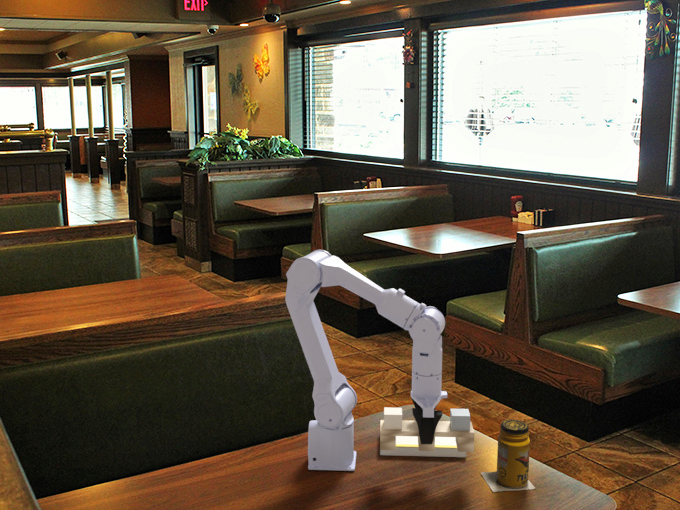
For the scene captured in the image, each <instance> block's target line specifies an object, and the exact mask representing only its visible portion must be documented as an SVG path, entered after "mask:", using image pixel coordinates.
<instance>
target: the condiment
mask: <svg viewBox="0 0 680 510" xmlns="http://www.w3.org/2000/svg"><path fill="white" fill-rule="evenodd" d="M529 430H530V428H529V426H528V424H527V423H526V422H525V421H523V420H518V419H505V420H503V421H502V422H501V423H500V429H499V434H498V437H497V455H496V457H497V458H496V471H483V472H480V475H481V476H482V477H483V479H484V481H485V482H486V484H487V486H488V487H489V488H490V490H492V492H493V493H496V492H497V493H499V492H505V491H506V492H508V491H511V492H513V491H516V492H517V491H527V490H535V489H536V487H535V486H534V485H533V483H532V482H531V481H530V480H529V471H530V469H529V468H530V467H529V466H530V450H531V449H530V448H531V447H530V446H531V440H530V437H529V435H530V434H529Z"/></svg>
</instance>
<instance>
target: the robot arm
mask: <svg viewBox="0 0 680 510" xmlns="http://www.w3.org/2000/svg"><path fill="white" fill-rule="evenodd" d="M285 275H286V278H287V281H286V282H287V283H286V284H287V285H286V291H285V297H284V298H285V299H284V301H285V305H286V306H287V310H288V312H289V315H290V318H291V321H292V323H293V326H294V330H295V333H296V335H297V338H298V340H299V343H300V346H301V348H302V353H303V354H304V358H305V361H306V363H307V365H308V368H309V369H308V370H309V371H310V374H311V378H312V379H313V390H312V395H311V397H312V399H313V402H314V403H313V404H314V408H313V415H314V417H315V420H313V419H312V420H310V421H309V423H308V431H307V435H308V436H307V457H308V459H307V460H308V462H307V463H308V465H307V469H308V470H309V471H338V472H339V471H342V472H343V471H344V472H347V471H348V472H354V471H355V470H356V463H357V461H356V460H357V451H356V450H354V449H355V447H354V446H355V443H354V442H355V440H354V439H355V438H354V437H355V433H354V431H355V428H354V427H355V425H354V424H355V423H354V422H355V421H354V416H353V413H352V412H353V411H352V410H354V409H355V407H356V406H357V403H358V395H357V393H356V391H355V390H354V388H353V387H352V386H351V385H350V384H349V382H348V380H347V377H346V376H345V375H344V374H342V373H341V372H340V371H339V369H338V366H337V364H336V361H335V357H334V356H333V355H334V354H333V352H332V349H331V347H330V344H329V341H328V338H327V335H326V332H325V329H324V327H323V324H322V321H321V318H320V316H319V313H318V309H317V307H316V304H315V302H314V300H315V298H316V296H317V294H318V293H319V291H320V289H321V288H326V287H327V288H328V287H336V286H340V287H342V288H344V289H346V290H348V291H350V292H351V293H353V294H355V295H357V296H359V297H360V298H363V299H364V300H366V301H368V302H370V303H372V304H374V305H375V308H376V310H377V313H378V315H381V317H383V318H385V319H387V320H388V321H390V322H392V323H393V324H395V325H397V326H398V327H400V328H401V329H403V330H404V331H408V334H409V335H410V338H411V339H412V349H411V350H412V351H411V353H412V354H411V355H412V356H411V357H412V358H411V363H412V364H411V390H410V399H411V401H412V404H413V406H414V407H412V409H411V411H412V416H413V418H414V421H416V422H417V425H418V430H419V437H420V441H421V444H432V442H433V439H434V434H435V430H436V427H437V424H438V422H439V421H441V419H442V417H443V410H439V409H438V410H437V409H436V408H437V406H438V404H439V403H440V402H441V400H442V399H447V398H448V392H447V391H446V390H442V385H443V384H442V381H443V379H442V378H443V377H442V376H443V347H442V346H443V336H442V333H443V331H444V329H445V326H446V318H445V316H444V314H443V313H442V312H441V311H440V310H439V309H438V308H437V307H435V306H431V305H429V306H427V304H425V303H423V302H421V303H419V302H418V301H416V300H414V299H412V298H411V297H409V296H407V295H406V294H405V293H406V291H405V290H404V289H402V288H398V289H396V288H393V287H392V288H387V289H384V288H383V287H381V286H380V285H378V284H376V283H375V282H373V281H372V280H371V279H369V278H367V277H366V276H365V275H363V274H362V273H360V272H359V271H357V270H355V269H354V268H352V267H351V266H349V265H348V264H347V263H346V262H344V261H343V260H342V259H341V258H340V257H339V256H337V255H332V254H331V253H330V252H328V251H327V250H325V249H315V250H313V251H312V252H310V253H309V254H306V255H304V256H302V257H299V258H296V259H295V260H294V261H293V262H292V263H291V266H289V268H288V270H287V272H286V273H285Z"/></svg>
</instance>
